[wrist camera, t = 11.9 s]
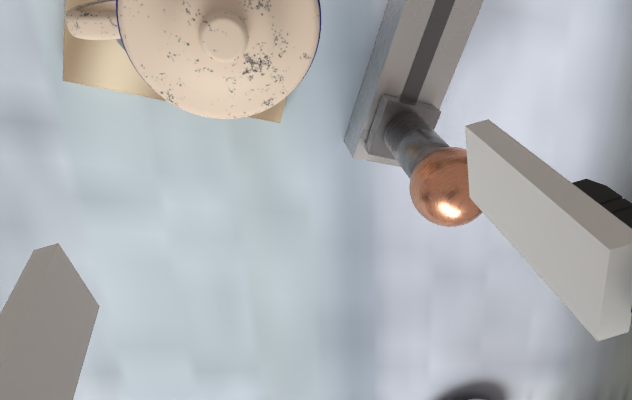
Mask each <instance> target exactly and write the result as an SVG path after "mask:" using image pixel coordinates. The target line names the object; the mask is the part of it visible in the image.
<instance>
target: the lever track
mask: <svg viewBox="0 0 632 400" xmlns="http://www.w3.org/2000/svg"><path fill="white" fill-rule="evenodd" d="M482 3H483V0H389V2H388V5H387V8H386V12H385V15H384V18H383V21H382V24H381V27H380V30H379V33H378V36H377V40H376V43H375V46H374V49H373V52H372V55H371V58H370V61H369V64H368V67H367V71H366V74H365V77H364V80H363V83H362V86H361V89H360V92H359V95H358V99H357V102H356V105H355V108H354V111H353V114H352V117H351V120H350V123H349V127H348V130H347V133H346V136H345V139H344V143H345V144H346V146H347V148H348V150H349V152H350V153H351V155H352V157H353V158H356V159H361V160H367V161H372V162H378V163H383V164H389V165H394V166H400V164H399V163H398V161H397V160H396V159H390V158H385V157H379V156H374V155H369V154H368V153H367V151H366V149H365V148H364V146H365V143H366V141H367V138H368V135H369V132H370V129H371V126H372V123H373V120H374V117H375V114H376V112H377V109H378V106H379V103H380V100H381V97H382V94H384V95H389V96H393V97H398V98H402V99H406V100H411V101H415V102H420V103H424V104H429V105H433V106H435V107H436V108H437V109H440V106H441V104H442V101H443V99H444V96H445V94H446V91H447V89H448V86H449V84H450V81H451V79H452V77H453V74H454V72H455V69H456V67H457V64H458V62H459V59H460V57H461V54H462V52H463V49H464V47H465V45H466V42H467V40H468V37H469V35H470V32H471V30H472V27H473V25H474V22H475V20H476V17H477V15H478V13H479V10H480V8H481V5H482ZM400 167H401V166H400Z"/></svg>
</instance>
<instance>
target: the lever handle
mask: <svg viewBox="0 0 632 400" xmlns="http://www.w3.org/2000/svg"><path fill="white" fill-rule="evenodd" d="M440 114H441V111H440V110H439V109H437V108H436V107H435V106H433V105H429V104H424V103H420V102H415V101H411V100H406V99H402V98H398V97H393V96H389V95H384V94H382V97H381V100H380V103H379V106H378V109H377V112H376V114H375V117H374V120H373V123H372V126H371V129H370V132H369V135H368V138H367V141H366V143H365V146H364V148H365V149H366V151H367V153H368V154H369V155H374V156H379V157H385V158H390V159H396V160H397V161H398V163H399V164H400V166H401V167H402V168H403V170H404V171H405V172H406V174H407V175H408V177H409V178H410V195H411V199H412V202H413V204H414V206H415V208H416V209H417V210H418V212H419V213H420V214H421V215H422V216H423V217H424V218H426V219H427V220H429V221H430V222H432V223H435V224H437V225H441V226H447V227H454V226H460V225H464V224H467V223H469V222H471V221H473V220H474V219H476V218H477V217H478V216H479V215H480V214H481V213H482V211H481V210H480V209H479V208H478V206H477V205H476V204H475V203H474V202H473V201H472V200H471V199H470V196H469V179H468V163H467V150H466V149H462V148H458V147H449V146H448V144H447V143H446V142H445V141H444V140H443V139H442V138H441V137H440V136H439V135H438V134H437V133H436V132H435V131H434V128H435V126H436V124H437V121H438V119H439V116H440Z"/></svg>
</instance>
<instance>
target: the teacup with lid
mask: <svg viewBox="0 0 632 400" xmlns="http://www.w3.org/2000/svg"><path fill="white" fill-rule="evenodd" d="M65 21H66V24H67V28H68V30H69V32H70V33H71V35H73V36H74V37H77V38H80V39H86V40H110V39H121V41H122V43H123V46H124V49H125V51H126V53H127V55H128V57H129V59H130V61H131V63H132V64H133V66H134V68H135V69H136V71H137V72H138V73H139V75H140V76H141V77H142V79H143V80H144V81H145V82H146V83H147V84H148V85H149V86H150V87H151V88H152V89H153V90H154V91H155V92H156V93H157V94H159V95H160V96H161V97H163V98H164V99H165V100H167V101H168V102H170V103H171V104H173V105H175V106H177V107H179V108H181V109H183V110H185V111H187V112H190V113H193V114H196V115H199V116H203V117H208V118H215V119H236V118H243V117H247V116H251V115H254V114H257V113H260V112H263V111H265V110H267V109H269V108H271V107H273V106H274V105H276V104H277V103H279V102H280V101H282V100H283V99H284V98H285V97H287V96H288V95H289V94H290V93H291V92H292V91H293V90H294V89H295V88H296V87H297V86H298V84H299V83H300V82H301V81H302V79H303V78H304V76H305V75H306V73H307V72H308V70H309V68H310V66H311V64H312V62H313V59H314V57H315V54H316V51H317V48H318V43H319V39H320V31H321V8H320V1H319V0H98V1H93V2H88V3H84V4H81V5H78V6H75V7H73V8H71V9H69V10H68V11H67V12H66V15H65Z"/></svg>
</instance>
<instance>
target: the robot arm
mask: <svg viewBox="0 0 632 400" xmlns="http://www.w3.org/2000/svg"><path fill="white" fill-rule="evenodd" d="M465 129H466V146H467V163H468V179H469V196H470V199H471V200H472V201H473V202H474V203H475V204H476V205H477V206H478V208H479V209H480V210H481V211H482V212H483V213H484V214H485V215H486V217H487V218H488V219H489V220H490V221H491V222H492V223H493V224H494V226H495V227H496V228H497V229H498V230H499V231H500V232H501V233H502V235H503V236H504V237H505V238H506V239H507V240H508V241H509V242H510V244H511V245H512V246H513V247H514V248H515V249H516V250H517V251H518V253H519V254H520V255H521V256H522V257H523V258H524V259H525V260H526V262H527V263H528V264H529V265H530V266H531V267H532V268H533V269H534V271H535V272H536V273H537V274H538V275H539V276H540V277H541V278H542V279H543V281H544V282H545V283H546V284H547V285H548V286H549V287H550V288H551V290H552V291H553V292H554V293H555V294H556V295H557V296H558V297H559V299H560V300H561V301H562V302H563V303H564V304H565V305H566V306H567V308H568V309H569V310H570V311H571V312H572V313H573V314H574V315H575V317H576V318H577V319H578V320H579V321H580V322H581V323H582V324H583V326H584V327H585V328H586V329H587V330H588V331H589V332H590V333H591V335H592V336H593V337H594V338H595V339H596V340H597V341H600V340H604V339H607V338H610V337H613V336H617V335H620V334H623V333H626V332H629V327H630V322H631V317H632V203H630V202H629V201H627V200H626V199H622V196H620V195H619V194H617V193H616V192H615V191H613V190H612V189H610V188H609V187H607V186H605V185H603V184H600V183H597V182H594V181H591V180H588V179H584V180H581V181H577V182H574V183H571V182H570V181H568V180H567V179H566V178H564V177H563V176H562V175H561V174H559V173H558V172H557V171H555V170H554V169H553V168H551V167H550V166H549V165H547V164H546V163H545V162H544V161H542V160H541V159H540V158H538V157H537V156H536V155H534V154H533V153H532V152H530V151H529V150H528V149H526V148H525V147H524V146H523V145H521V144H520V143H519V142H517V141H516V140H515V139H513V138H512V137H511V136H509V135H508V134H507V133H506V132H504V131H503V130H502V129H500V128H499V127H498V126H496V125H495V124H494V123H492V122H491V121H490V120H484V121H481V122H477V123H474V124H470V125H467V126H465ZM98 310H99V305H98V303H97V302H96V300H95V299H94V297H93V296H92V294H91V293H90V291H89V290H88V288H87V286H86V285H85V283H84V282H83V280H82V279H81V277H80V276H79V274H78V273H77V271H76V270H75V268H74V266H73V265H72V263H71V262H70V260H69V259H68V257H67V256H66V254H65V253H64V251H63V249H62V248H61V246H60V245H59V243H58V244H54V245H51V246H47V247H44V248H40V249H37V250H34V251H33V253H32V255H31V257H30V259H29V261H28V263H27V264H26V266H25V268H24V270H23V272H22V274H21V276H20V278H19V280H18V282H17V283H16V285H15V287H14V289H13V291H12V293H11V295H10V297H9V299H8V301H7V302H6V304H5V306H4V308H3V310H2V312H1V314H0V400H73V397H74V393H75V390H76V387H77V383H78V380H79V376H80V373H81V369H82V366H83V362H84V359H85V355H86V352H87V348H88V345H89V341H90V338H91V334H92V331H93V327H94V324H95V320H96V317H97V313H98Z"/></svg>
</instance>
